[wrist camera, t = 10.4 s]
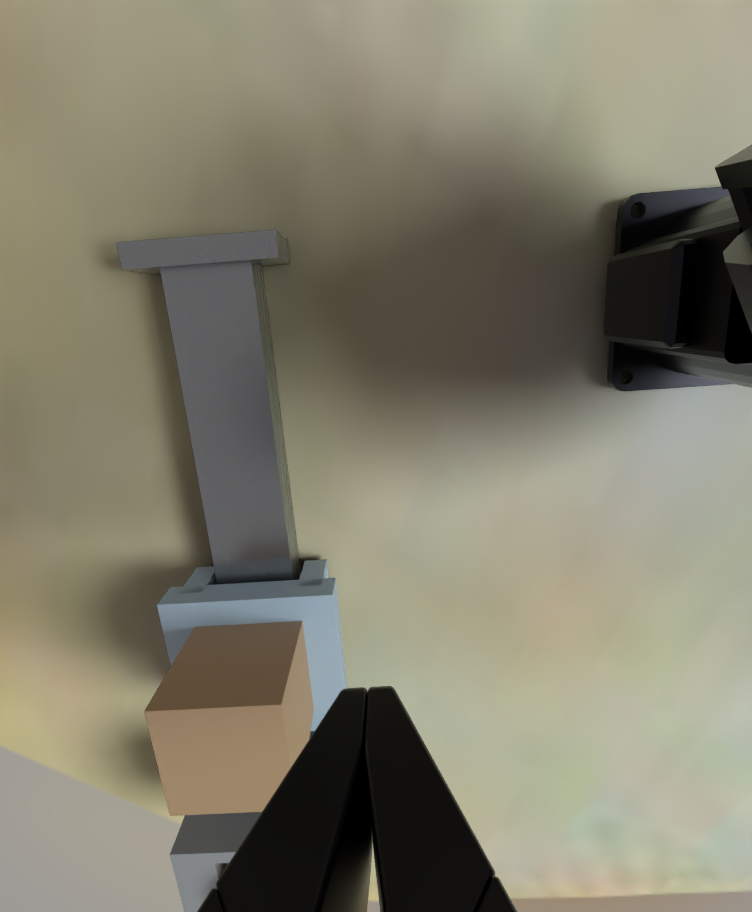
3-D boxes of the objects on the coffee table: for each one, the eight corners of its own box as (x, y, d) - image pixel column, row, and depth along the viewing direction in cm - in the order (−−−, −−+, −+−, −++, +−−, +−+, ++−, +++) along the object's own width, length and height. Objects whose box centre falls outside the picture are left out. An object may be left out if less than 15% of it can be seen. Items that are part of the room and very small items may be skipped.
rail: (287, 238, 17) (275, 229, 15) (338, 700, 23) (334, 736, 21) (145, 249, 17) (116, 242, 15) (230, 706, 23) (217, 742, 21)
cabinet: (350, 712, 23) (341, 847, 17) (358, 779, 24) (350, 927, 18) (222, 718, 23) (169, 854, 17) (235, 785, 24) (190, 933, 18)
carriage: (338, 558, 20) (319, 673, 14) (351, 680, 22) (338, 832, 16) (185, 567, 20) (95, 685, 14) (209, 687, 22) (138, 841, 16)
